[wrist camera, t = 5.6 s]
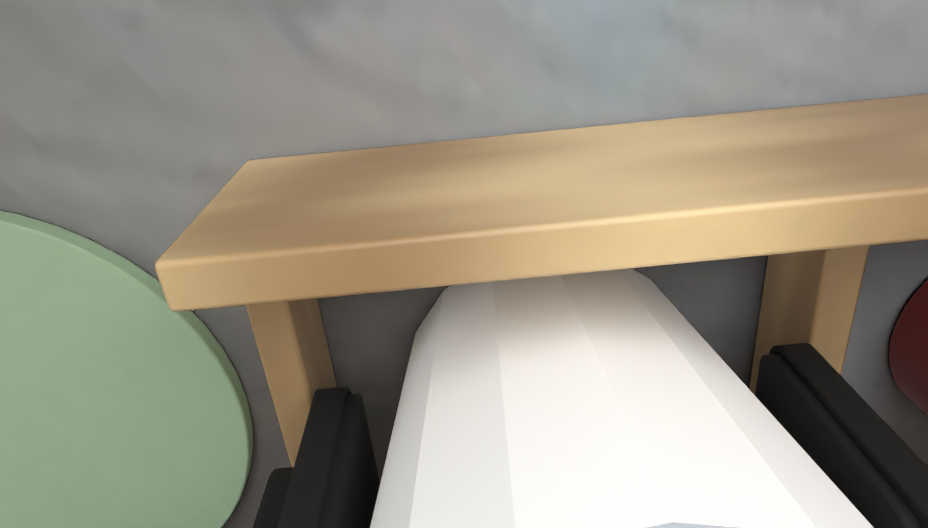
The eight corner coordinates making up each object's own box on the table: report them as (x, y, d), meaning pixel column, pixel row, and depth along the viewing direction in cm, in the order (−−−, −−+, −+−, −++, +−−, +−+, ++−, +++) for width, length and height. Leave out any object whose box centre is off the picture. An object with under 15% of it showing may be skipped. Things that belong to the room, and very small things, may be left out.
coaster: (179, 177, 11) (171, 185, 10) (295, 554, 15) (292, 569, 15) (-367, 230, 11) (-394, 240, 11) (-97, 591, 15) (-110, 606, 15)
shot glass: (746, 426, 14) (1000, 819, 8) (465, 527, 15) (483, 943, 9) (654, 153, 11) (940, 422, 5) (314, 303, 12) (179, 683, 6)
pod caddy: (1380, 47, 11) (1856, 98, 7) (1143, 481, 15) (1362, 646, 12) (245, 159, 11) (150, 263, 7) (346, 555, 15) (318, 741, 12)
